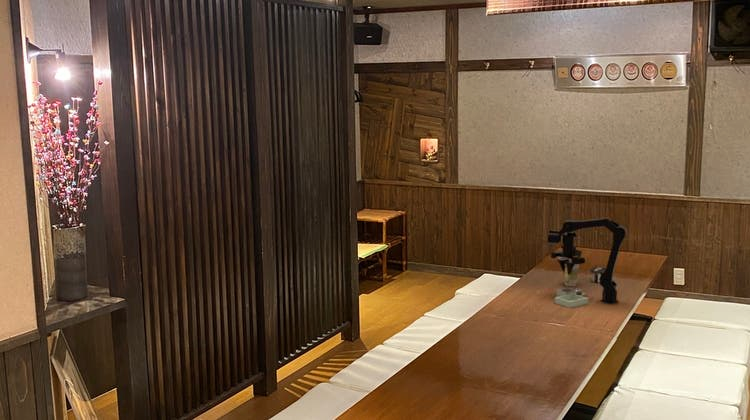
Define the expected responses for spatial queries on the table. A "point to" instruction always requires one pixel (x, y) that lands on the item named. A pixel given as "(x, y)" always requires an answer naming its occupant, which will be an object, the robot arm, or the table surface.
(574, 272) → the coffee cup
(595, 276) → the architectural model
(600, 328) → the table surface
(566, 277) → the lock pin
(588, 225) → the robot arm
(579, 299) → the tray
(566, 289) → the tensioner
